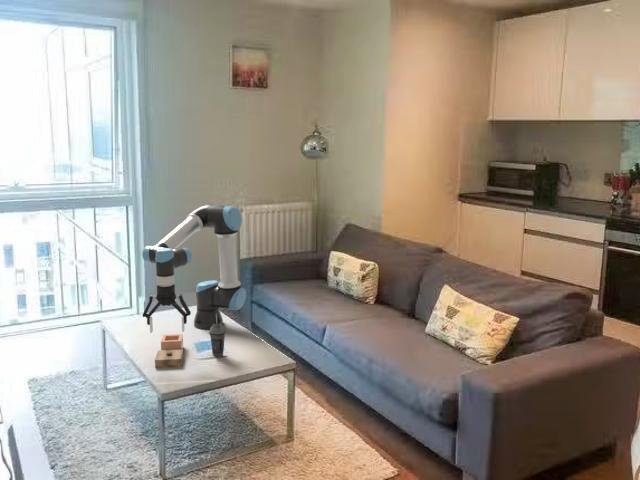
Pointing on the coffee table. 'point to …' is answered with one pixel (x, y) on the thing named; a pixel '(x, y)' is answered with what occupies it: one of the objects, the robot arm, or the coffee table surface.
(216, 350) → the beverage cup
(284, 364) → the coffee table surface
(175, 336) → the peach open box
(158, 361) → the lid
